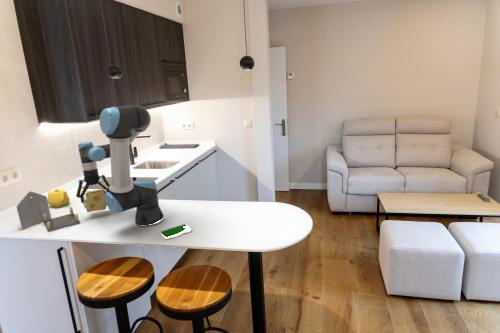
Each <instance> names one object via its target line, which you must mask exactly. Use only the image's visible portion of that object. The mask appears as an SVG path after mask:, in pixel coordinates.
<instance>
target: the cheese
mask: <svg viewBox="0 0 500 333" xmlns="http://www.w3.org/2000/svg"><path fill="white" fill-rule="evenodd" d="M105 191H106V190H105V189H104V188H100V189H96V190H94V189H93V190H87V191H86V193H85V202H86V213H92V212H95V211H96V212H97V211H104V210H106V209H107V208H108V206H107V204H106V202H105V198H104V195H105Z"/></svg>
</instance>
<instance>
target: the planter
mask: <svg viewBox="0 0 500 333" xmlns="http://www.w3.org/2000/svg"><path fill="white" fill-rule="evenodd" d="M16 211H17V214H18V218H19V223H20V227H21V230H22V231H23V230H26V229H28V228H32V227H33V226H35V225H36V226H37V225H38V224H40V223H44V219H43V215H42V214H46V217H47V220H48V219H52V216H51V215H52V214H51V211H50V205H49V204H48V196H46V195H44V194H40V193H37V192H34V191H30V190H29V191H28V192H27V193H26V195H24V197H23V198H22V199H21V200H20V202H19V203H18V204H17V205H16Z"/></svg>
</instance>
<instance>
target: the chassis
mask: <svg viewBox="0 0 500 333" xmlns="http://www.w3.org/2000/svg"><path fill="white" fill-rule="evenodd" d="M68 209H69V214H64V215H61V216H58V217H57V216H56V217H53V218H52V217H51V219H48V220H47V217H46V214H42V215H43V219H44V222H43V224H44V226H45V228H46V230H47V232H48V233H50V232H53V231H57V230H58V231H59V230H61V229H65V228H69V227H71V226H75V225H76V226H77V225H79V224H81V221H80V219H79V215H78V213H77V214H76V213H74V210H73V206H70V207H69V208H68Z"/></svg>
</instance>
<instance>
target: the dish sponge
mask: <svg viewBox="0 0 500 333" xmlns="http://www.w3.org/2000/svg"><path fill="white" fill-rule="evenodd" d="M185 224H186V223H183V224H181V225H178V226H174V227H171V228H167V229H164V230H162V231H160V234H161V233H162V234H163V235H164V236H166V237H168V236H171V235H174V234H177V233H179V232H181V231H183V230H184V229H185V228H183V226H186V225H185Z"/></svg>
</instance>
